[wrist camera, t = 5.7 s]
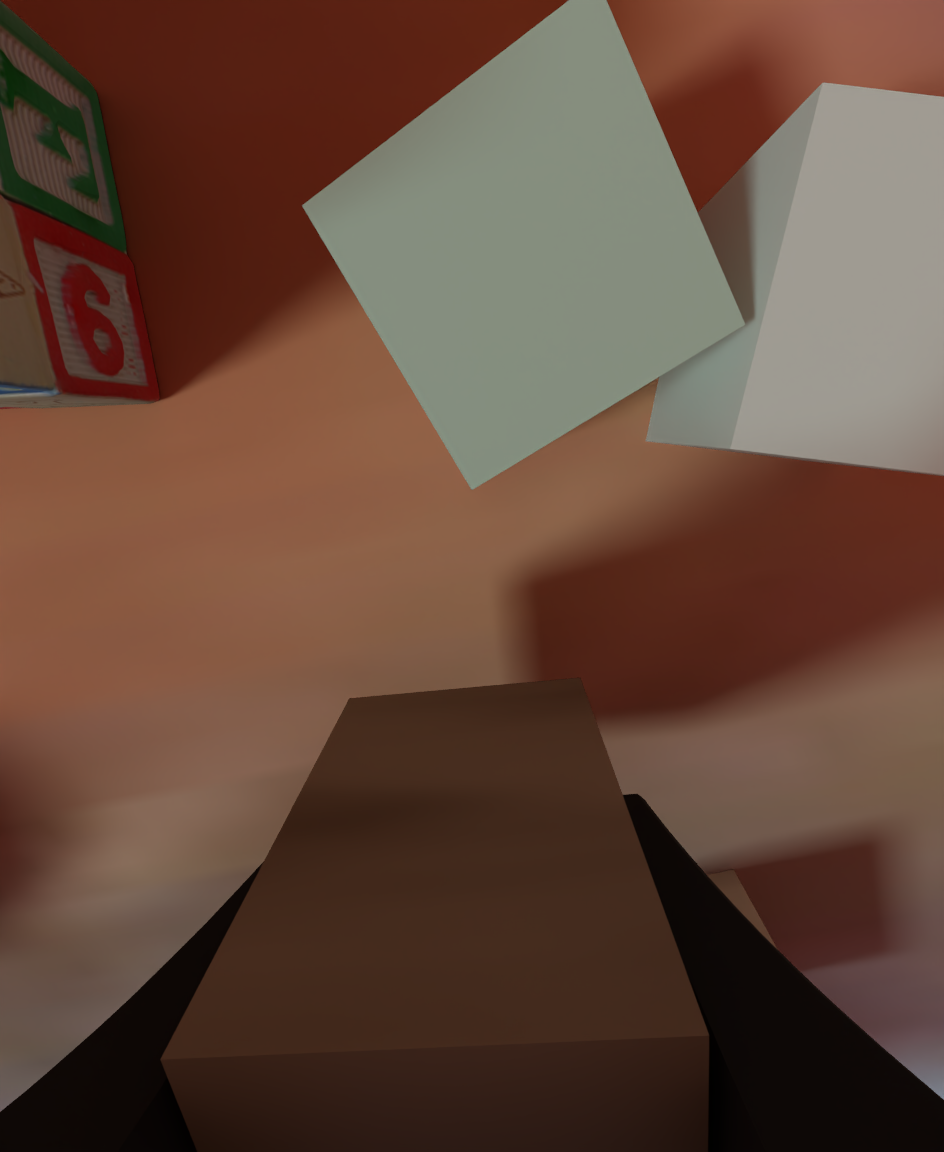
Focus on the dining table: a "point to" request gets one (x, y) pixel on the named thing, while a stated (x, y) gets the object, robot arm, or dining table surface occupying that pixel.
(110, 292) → the stack of blocks
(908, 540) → the dining table surface
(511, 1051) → the walnut bar
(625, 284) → the sage block
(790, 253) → the white block
